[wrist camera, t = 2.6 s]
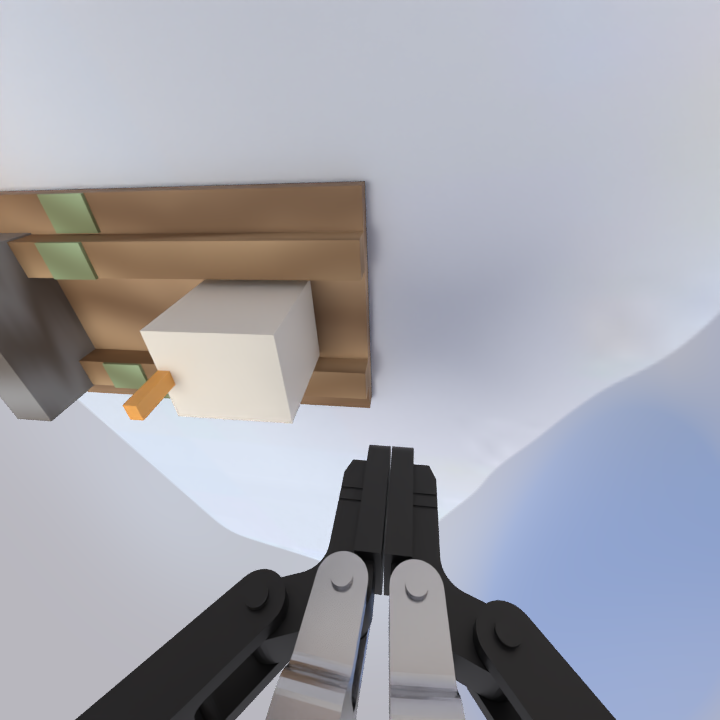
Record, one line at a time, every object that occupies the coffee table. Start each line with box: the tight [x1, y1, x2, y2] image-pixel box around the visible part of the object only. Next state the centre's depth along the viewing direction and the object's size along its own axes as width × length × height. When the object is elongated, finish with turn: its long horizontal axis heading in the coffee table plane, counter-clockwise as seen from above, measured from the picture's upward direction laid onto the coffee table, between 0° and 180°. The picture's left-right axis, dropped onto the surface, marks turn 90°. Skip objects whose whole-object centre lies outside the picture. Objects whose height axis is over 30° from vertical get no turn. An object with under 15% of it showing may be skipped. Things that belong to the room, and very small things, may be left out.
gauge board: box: [0, 181, 372, 421], centre depth 20 cm, size 14×22×6 cm, turn 92°
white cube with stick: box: [123, 279, 320, 423], centre depth 18 cm, size 5×6×8 cm
